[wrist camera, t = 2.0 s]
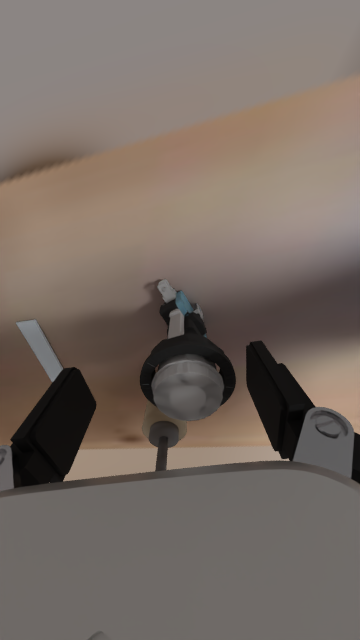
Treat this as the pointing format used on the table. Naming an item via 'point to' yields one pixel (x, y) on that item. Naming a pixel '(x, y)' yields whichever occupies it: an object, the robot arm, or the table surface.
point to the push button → (186, 364)
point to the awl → (162, 432)
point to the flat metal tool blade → (41, 347)
